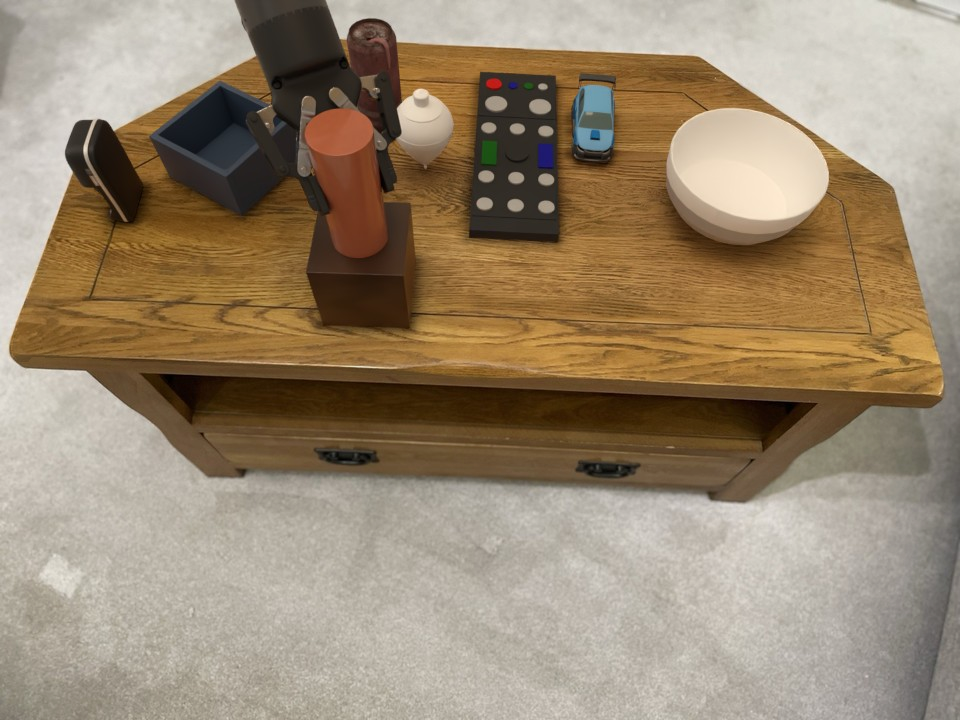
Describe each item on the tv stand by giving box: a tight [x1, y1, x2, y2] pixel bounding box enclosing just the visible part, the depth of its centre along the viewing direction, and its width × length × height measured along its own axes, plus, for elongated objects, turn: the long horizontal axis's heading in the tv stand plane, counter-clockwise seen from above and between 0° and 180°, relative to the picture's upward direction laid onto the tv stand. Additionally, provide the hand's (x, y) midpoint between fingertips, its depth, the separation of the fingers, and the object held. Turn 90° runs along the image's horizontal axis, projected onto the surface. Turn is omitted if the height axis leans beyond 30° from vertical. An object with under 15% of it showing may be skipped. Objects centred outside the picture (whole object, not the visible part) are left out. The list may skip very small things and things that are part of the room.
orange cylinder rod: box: [305, 108, 388, 258], centre depth 64 cm, size 6×6×14 cm
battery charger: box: [64, 118, 144, 223], centre depth 80 cm, size 7×4×11 cm, turn 3°
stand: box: [305, 201, 417, 329], centre depth 75 cm, size 10×10×10 cm
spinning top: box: [395, 88, 454, 170], centre depth 84 cm, size 8×8×12 cm
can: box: [346, 17, 403, 134], centre depth 87 cm, size 6×6×14 cm
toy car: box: [570, 72, 617, 164], centre depth 91 cm, size 6×12×6 cm, turn 175°
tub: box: [148, 80, 297, 217], centre depth 86 cm, size 13×13×7 cm
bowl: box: [665, 107, 830, 246], centre depth 83 cm, size 19×19×9 cm
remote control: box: [468, 71, 560, 243], centre depth 90 cm, size 11×30×2 cm, turn 177°
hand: (358, 202), depth 64 cm, fingers closed on orange cylinder rod, 6 cm apart
